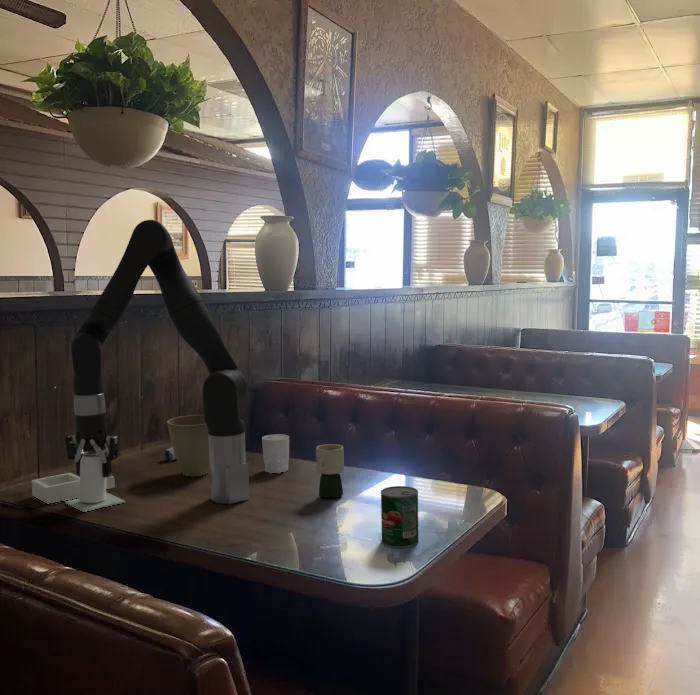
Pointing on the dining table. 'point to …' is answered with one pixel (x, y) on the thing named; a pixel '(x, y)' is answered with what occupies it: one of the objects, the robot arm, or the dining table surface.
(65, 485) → the white piece
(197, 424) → the plant pot
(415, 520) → the canned tomato
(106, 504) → the pad
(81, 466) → the can
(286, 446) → the white cup
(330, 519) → the dining table surface
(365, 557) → the dining table surface
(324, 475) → the character mug
